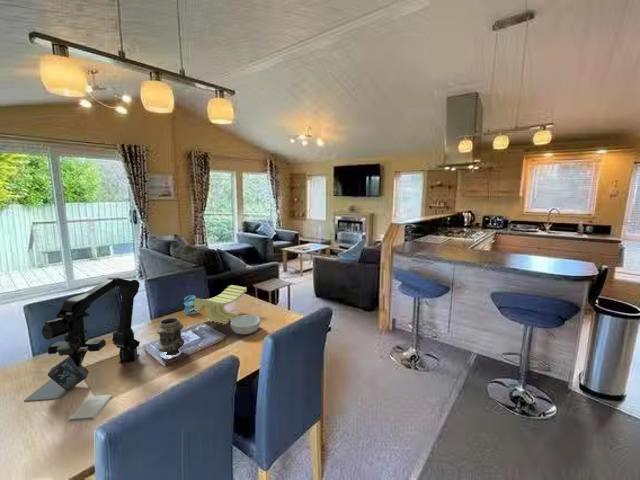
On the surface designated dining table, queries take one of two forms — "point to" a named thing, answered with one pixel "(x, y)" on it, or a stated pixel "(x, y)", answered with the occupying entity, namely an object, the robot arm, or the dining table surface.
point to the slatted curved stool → (220, 304)
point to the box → (68, 374)
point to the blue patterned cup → (189, 305)
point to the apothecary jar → (170, 336)
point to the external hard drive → (90, 408)
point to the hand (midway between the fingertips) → (78, 366)
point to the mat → (48, 392)
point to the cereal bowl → (245, 324)
